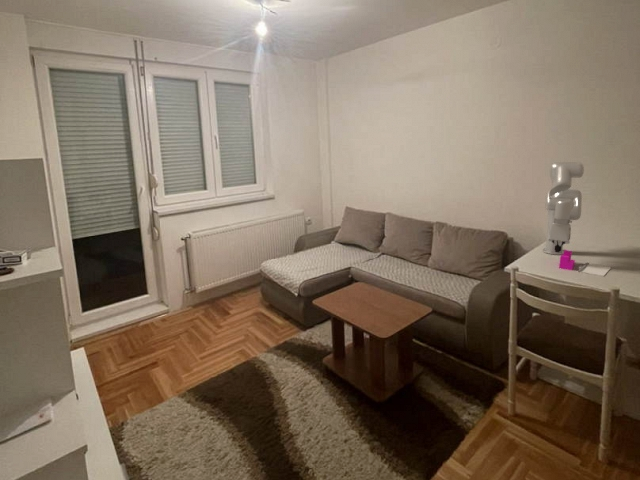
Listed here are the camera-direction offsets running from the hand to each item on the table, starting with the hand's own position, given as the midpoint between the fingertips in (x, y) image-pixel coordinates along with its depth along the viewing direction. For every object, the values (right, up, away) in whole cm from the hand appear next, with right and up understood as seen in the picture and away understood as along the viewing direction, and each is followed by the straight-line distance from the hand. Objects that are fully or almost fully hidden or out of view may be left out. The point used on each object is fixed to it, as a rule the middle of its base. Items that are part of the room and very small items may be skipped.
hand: (557, 251), depth 223 cm
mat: (+14, -10, -12) cm, 20 cm away
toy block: (+4, -8, -3) cm, 10 cm away
